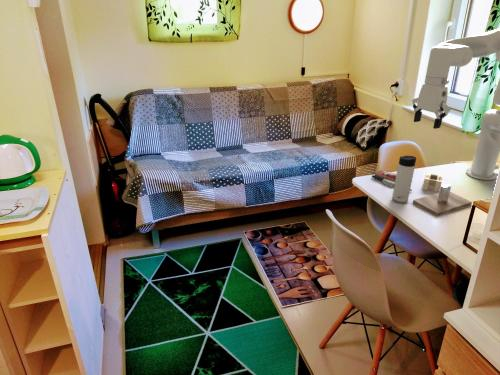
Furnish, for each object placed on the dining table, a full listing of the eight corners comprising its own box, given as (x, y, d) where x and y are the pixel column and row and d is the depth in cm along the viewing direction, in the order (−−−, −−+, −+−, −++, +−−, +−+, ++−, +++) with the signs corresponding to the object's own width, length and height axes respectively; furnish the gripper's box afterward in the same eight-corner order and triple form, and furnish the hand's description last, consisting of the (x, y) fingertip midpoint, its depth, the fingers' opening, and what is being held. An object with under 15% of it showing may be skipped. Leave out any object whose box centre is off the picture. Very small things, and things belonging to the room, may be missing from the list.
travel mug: (400, 205, 157) (408, 160, 148) (388, 198, 162) (396, 154, 154) (411, 202, 159) (420, 158, 150) (400, 195, 165) (408, 152, 156)
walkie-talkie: (368, 180, 180) (410, 194, 167) (370, 171, 178) (411, 184, 165) (378, 174, 185) (418, 187, 173) (379, 166, 184) (420, 178, 171)
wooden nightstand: (424, 182, 176) (426, 172, 174) (440, 186, 173) (443, 175, 171) (422, 188, 171) (424, 178, 168) (439, 192, 168) (441, 181, 165)
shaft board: (446, 193, 167) (450, 175, 163) (471, 205, 157) (476, 186, 153) (412, 203, 159) (416, 184, 155) (436, 216, 149) (441, 197, 145)
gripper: (462, 84, 139) (451, 129, 147) (424, 76, 153) (416, 118, 161) (448, 86, 136) (437, 132, 144) (410, 78, 150) (403, 120, 158)
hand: (426, 124), depth 152 cm, fingers open, 9 cm apart
